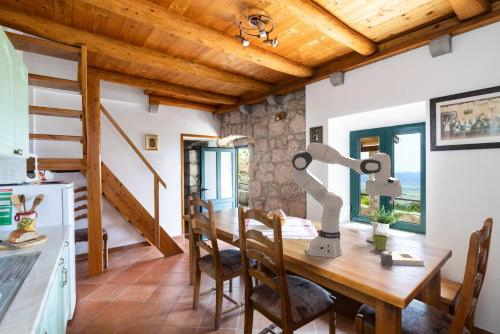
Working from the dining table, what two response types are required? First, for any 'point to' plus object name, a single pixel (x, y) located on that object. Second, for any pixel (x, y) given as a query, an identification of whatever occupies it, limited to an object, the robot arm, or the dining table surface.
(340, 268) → the dining table surface
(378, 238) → the plant pot
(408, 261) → the socket plate
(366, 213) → the flower in vase
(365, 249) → the dining table surface
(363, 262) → the dining table surface
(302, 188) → the robot arm
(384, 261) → the plug
